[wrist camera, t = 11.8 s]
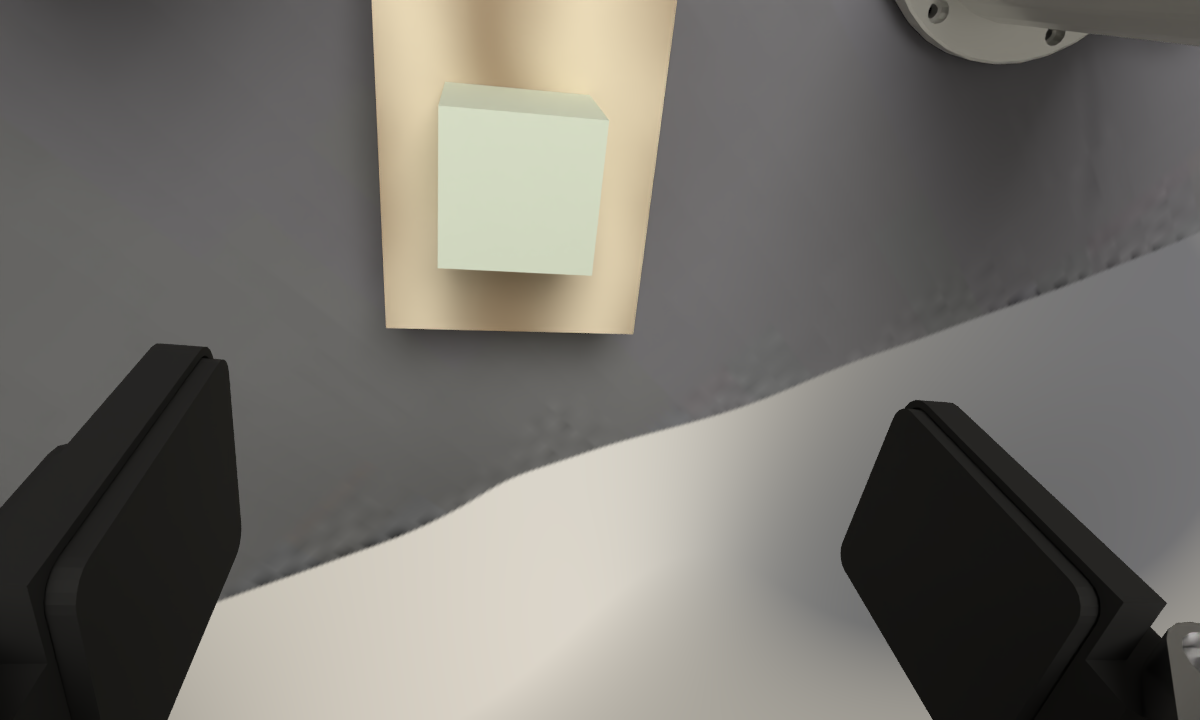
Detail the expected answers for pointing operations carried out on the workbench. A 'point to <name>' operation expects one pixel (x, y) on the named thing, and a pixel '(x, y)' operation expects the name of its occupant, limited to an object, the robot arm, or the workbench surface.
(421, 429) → the workbench surface
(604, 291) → the maple block
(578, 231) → the sage cube
